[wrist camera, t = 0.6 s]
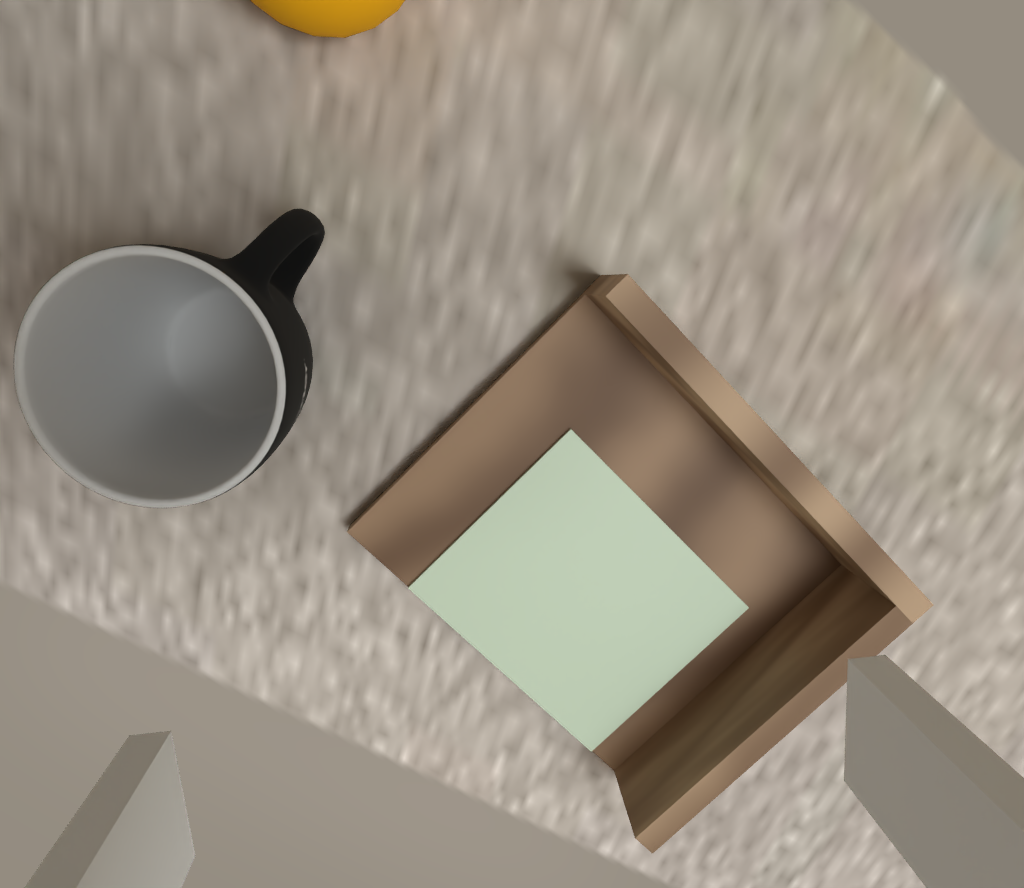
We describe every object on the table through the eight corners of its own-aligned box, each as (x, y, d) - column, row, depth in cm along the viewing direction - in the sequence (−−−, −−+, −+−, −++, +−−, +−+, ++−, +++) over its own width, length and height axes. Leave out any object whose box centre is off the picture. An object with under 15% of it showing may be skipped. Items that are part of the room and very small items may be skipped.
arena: (350, 525, 38) (329, 570, 32) (600, 275, 36) (628, 274, 30) (625, 772, 41) (652, 853, 36) (864, 557, 40) (933, 604, 34)
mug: (259, 485, 37) (184, 560, 27) (98, 366, 35) (-44, 400, 25) (414, 289, 35) (396, 293, 26) (254, 156, 34) (168, 105, 24)
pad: (408, 586, 37) (408, 588, 37) (570, 428, 36) (571, 429, 36) (590, 749, 40) (591, 751, 40) (747, 606, 39) (749, 608, 39)
